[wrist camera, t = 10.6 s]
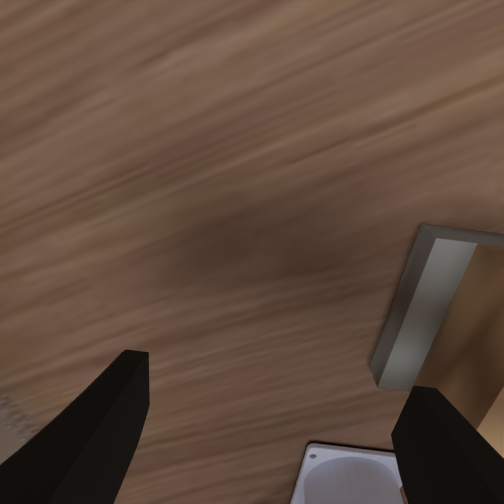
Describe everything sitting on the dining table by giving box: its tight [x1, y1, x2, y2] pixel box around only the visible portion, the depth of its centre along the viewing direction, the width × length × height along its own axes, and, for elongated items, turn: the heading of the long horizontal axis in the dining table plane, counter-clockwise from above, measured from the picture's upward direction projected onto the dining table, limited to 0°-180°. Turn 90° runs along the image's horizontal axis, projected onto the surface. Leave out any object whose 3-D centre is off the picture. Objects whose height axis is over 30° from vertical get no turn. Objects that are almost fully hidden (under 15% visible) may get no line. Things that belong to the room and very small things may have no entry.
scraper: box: [370, 224, 504, 458], centre depth 17 cm, size 10×7×7 cm
